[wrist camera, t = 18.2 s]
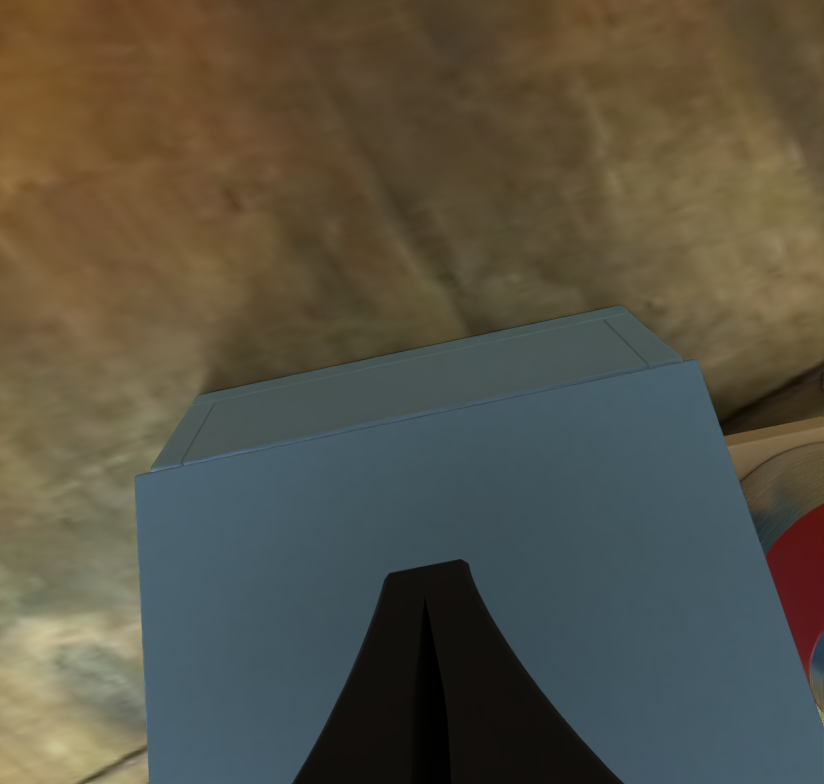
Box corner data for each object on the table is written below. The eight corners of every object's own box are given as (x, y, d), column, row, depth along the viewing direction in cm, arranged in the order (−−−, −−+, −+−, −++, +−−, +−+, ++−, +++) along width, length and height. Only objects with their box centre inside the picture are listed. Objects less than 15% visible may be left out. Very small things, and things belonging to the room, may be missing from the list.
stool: (840, 524, 22) (909, 588, 19) (662, 559, 23) (703, 627, 20) (850, 361, 20) (930, 406, 17) (650, 402, 20) (695, 453, 17)
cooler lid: (890, 972, 11) (918, 998, 11) (184, 1083, 12) (163, 1115, 11) (686, 369, 15) (697, 357, 14) (150, 481, 16) (133, 475, 15)
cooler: (647, 592, 23) (700, 692, 19) (296, 658, 24) (279, 769, 20) (621, 304, 19) (684, 356, 15) (196, 394, 20) (148, 468, 16)
